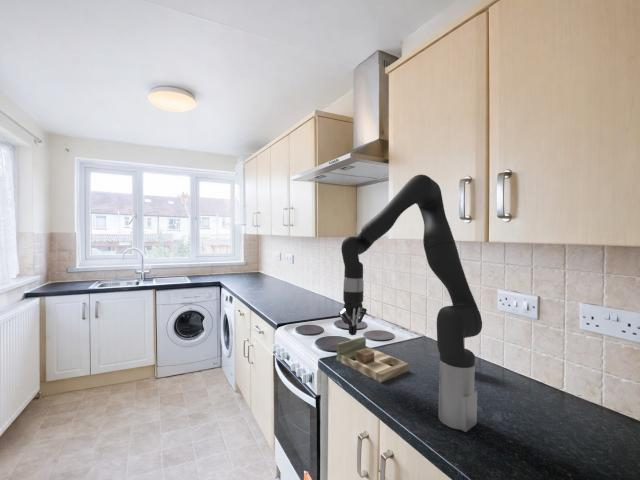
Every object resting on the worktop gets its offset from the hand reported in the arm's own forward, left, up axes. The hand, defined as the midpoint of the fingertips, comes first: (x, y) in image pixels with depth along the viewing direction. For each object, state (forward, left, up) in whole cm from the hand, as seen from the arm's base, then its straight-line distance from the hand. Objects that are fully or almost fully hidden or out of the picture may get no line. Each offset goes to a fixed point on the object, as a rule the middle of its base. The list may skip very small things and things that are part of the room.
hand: (352, 334), depth 118 cm
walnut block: (0, -7, -12) cm, 14 cm away
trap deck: (0, -11, -15) cm, 19 cm away
